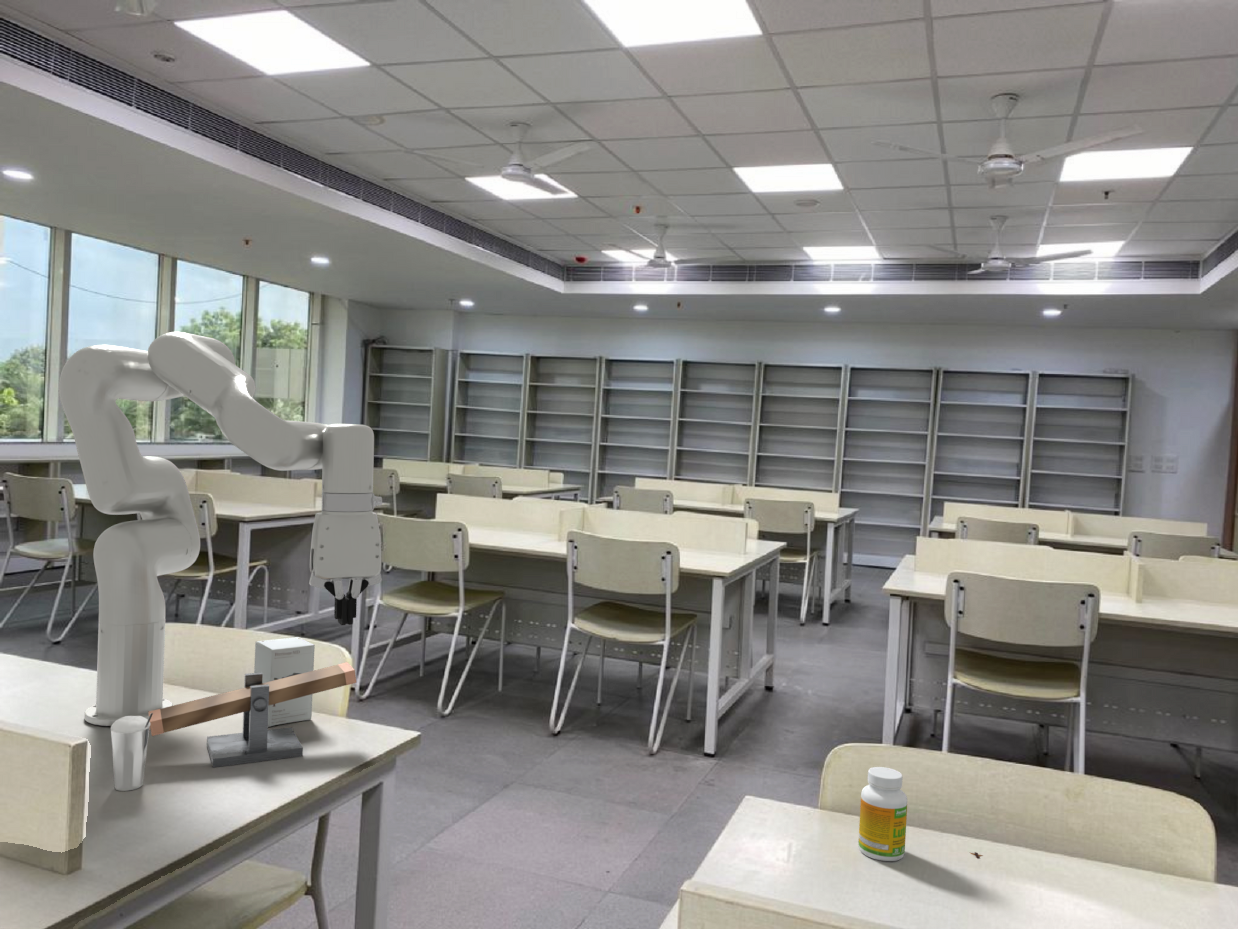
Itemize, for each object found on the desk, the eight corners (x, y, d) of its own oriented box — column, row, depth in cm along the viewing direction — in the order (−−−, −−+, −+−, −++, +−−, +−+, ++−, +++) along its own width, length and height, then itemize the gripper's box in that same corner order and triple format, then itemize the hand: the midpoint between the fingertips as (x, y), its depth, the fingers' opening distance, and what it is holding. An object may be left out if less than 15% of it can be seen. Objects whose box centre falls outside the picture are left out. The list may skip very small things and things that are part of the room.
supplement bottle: (897, 867, 103) (902, 784, 103) (852, 854, 106) (856, 773, 106) (909, 850, 108) (913, 771, 108) (865, 838, 111) (869, 761, 111)
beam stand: (212, 767, 124) (215, 693, 124) (206, 744, 133) (209, 675, 132) (302, 756, 130) (305, 684, 129) (291, 735, 138) (293, 668, 138)
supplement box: (267, 728, 141) (270, 649, 141) (251, 716, 147) (254, 640, 146) (313, 720, 146) (315, 644, 146) (295, 708, 152) (298, 635, 151)
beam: (151, 736, 122) (149, 722, 122) (150, 725, 127) (148, 711, 126) (356, 682, 136) (354, 669, 135) (349, 674, 140) (347, 662, 140)
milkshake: (136, 796, 113) (139, 718, 113) (100, 791, 114) (102, 714, 114) (161, 783, 118) (164, 708, 118) (126, 778, 119) (129, 704, 119)
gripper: (389, 502, 143) (387, 615, 143) (292, 503, 136) (290, 622, 136) (402, 505, 137) (400, 624, 137) (300, 506, 129) (298, 632, 130)
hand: (345, 623), depth 136 cm, fingers closed
